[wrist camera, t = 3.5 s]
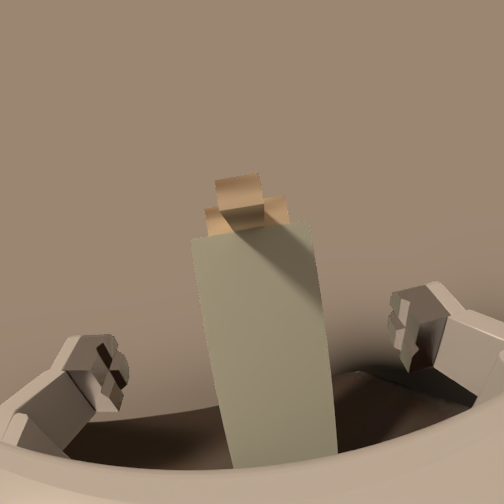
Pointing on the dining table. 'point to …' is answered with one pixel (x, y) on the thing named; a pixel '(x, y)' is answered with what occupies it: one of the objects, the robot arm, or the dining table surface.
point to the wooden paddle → (244, 206)
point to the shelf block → (267, 343)
